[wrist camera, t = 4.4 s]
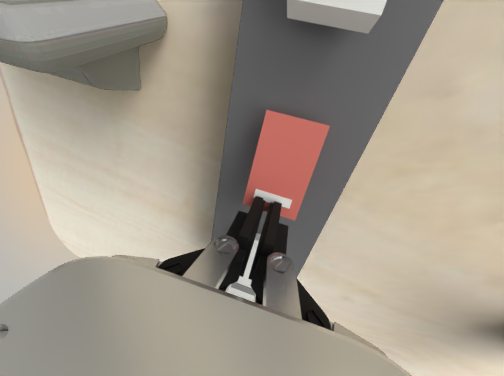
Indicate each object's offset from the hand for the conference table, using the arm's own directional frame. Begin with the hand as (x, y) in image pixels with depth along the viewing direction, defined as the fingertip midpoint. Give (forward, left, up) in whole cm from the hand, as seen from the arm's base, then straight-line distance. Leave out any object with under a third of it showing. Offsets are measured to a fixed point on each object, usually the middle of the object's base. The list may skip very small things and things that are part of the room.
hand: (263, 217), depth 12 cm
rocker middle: (-3, 0, -3) cm, 4 cm away
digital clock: (-9, -20, -8) cm, 23 cm away
